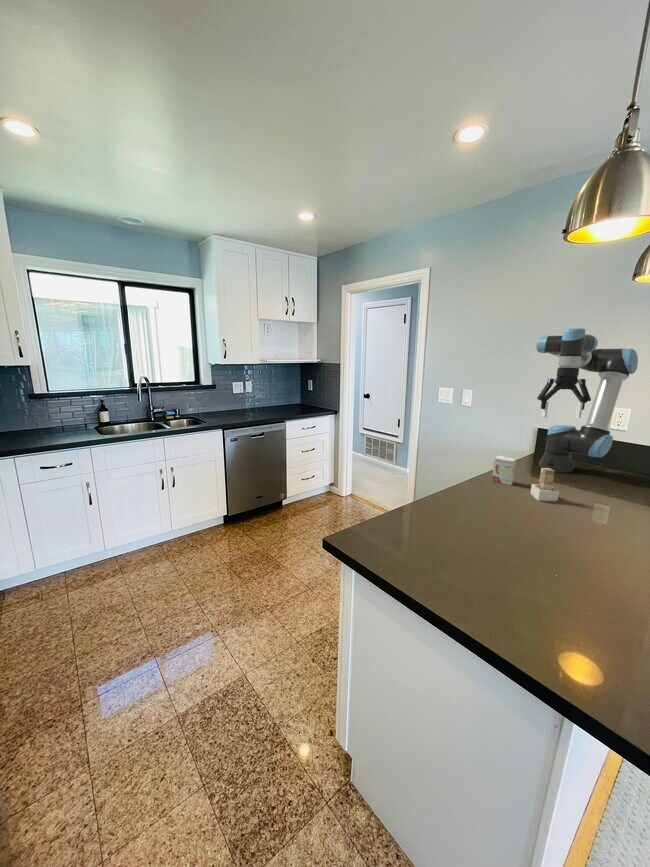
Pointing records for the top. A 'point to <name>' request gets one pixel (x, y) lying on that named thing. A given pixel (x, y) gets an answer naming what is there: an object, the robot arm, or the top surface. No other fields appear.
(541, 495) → the white square open box
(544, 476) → the tan wooden block
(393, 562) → the top surface
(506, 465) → the ink box
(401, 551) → the top surface
